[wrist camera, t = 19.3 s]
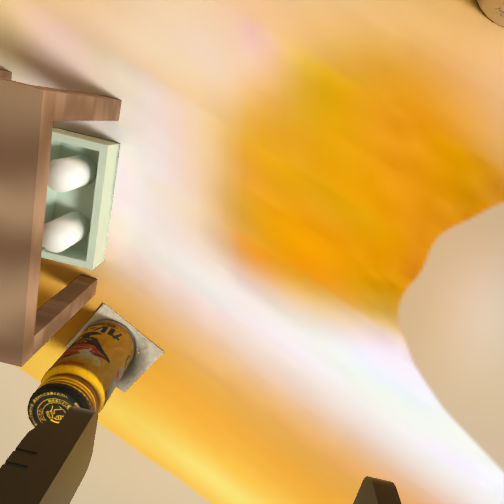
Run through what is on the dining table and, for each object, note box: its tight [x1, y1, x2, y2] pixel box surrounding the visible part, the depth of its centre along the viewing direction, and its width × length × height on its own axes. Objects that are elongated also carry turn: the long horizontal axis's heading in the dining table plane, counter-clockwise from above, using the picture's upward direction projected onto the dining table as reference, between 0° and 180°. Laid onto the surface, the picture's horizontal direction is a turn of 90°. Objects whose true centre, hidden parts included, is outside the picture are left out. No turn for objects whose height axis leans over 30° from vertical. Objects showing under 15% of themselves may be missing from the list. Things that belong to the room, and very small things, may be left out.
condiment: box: [28, 304, 164, 427], centre depth 40 cm, size 7×8×12 cm
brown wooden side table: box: [0, 69, 121, 367], centre depth 34 cm, size 20×12×14 cm, turn 166°
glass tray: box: [41, 128, 120, 270], centre depth 38 cm, size 12×6×5 cm, turn 166°
